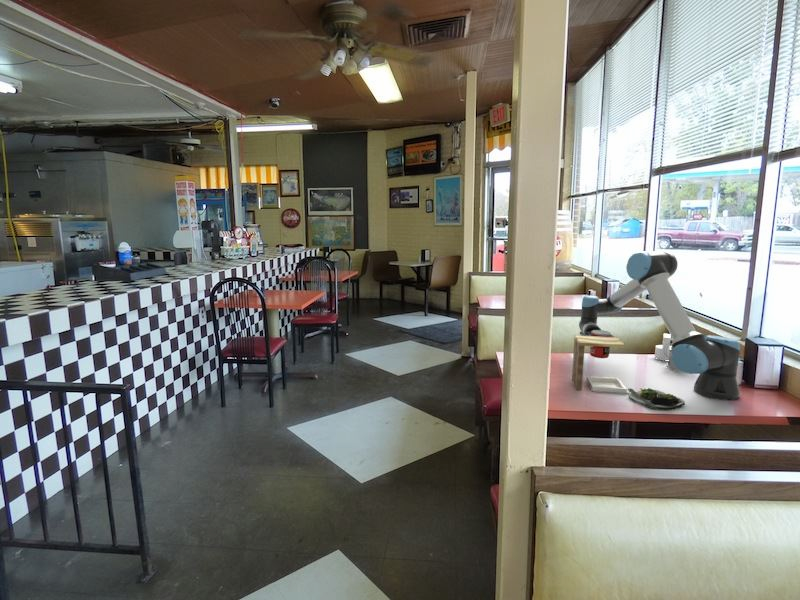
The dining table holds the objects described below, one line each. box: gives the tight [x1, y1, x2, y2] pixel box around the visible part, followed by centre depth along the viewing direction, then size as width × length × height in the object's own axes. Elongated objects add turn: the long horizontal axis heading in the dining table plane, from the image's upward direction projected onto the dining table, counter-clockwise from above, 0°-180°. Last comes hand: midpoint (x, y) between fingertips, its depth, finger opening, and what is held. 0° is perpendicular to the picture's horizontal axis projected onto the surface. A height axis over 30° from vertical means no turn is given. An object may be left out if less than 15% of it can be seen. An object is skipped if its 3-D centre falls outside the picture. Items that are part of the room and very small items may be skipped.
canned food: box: [589, 329, 612, 359], centre depth 201 cm, size 8×8×11 cm
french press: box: [664, 337, 681, 372], centre depth 211 cm, size 10×12×25 cm
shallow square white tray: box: [585, 375, 628, 395], centre depth 190 cm, size 13×13×2 cm
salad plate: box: [627, 387, 685, 411], centre depth 176 cm, size 19×18×5 cm
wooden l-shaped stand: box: [571, 334, 626, 391], centre depth 189 cm, size 12×17×20 cm
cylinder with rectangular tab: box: [654, 333, 672, 361], centre depth 227 cm, size 9×9×12 cm
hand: (602, 344), depth 196 cm, fingers closed on canned food, 8 cm apart
